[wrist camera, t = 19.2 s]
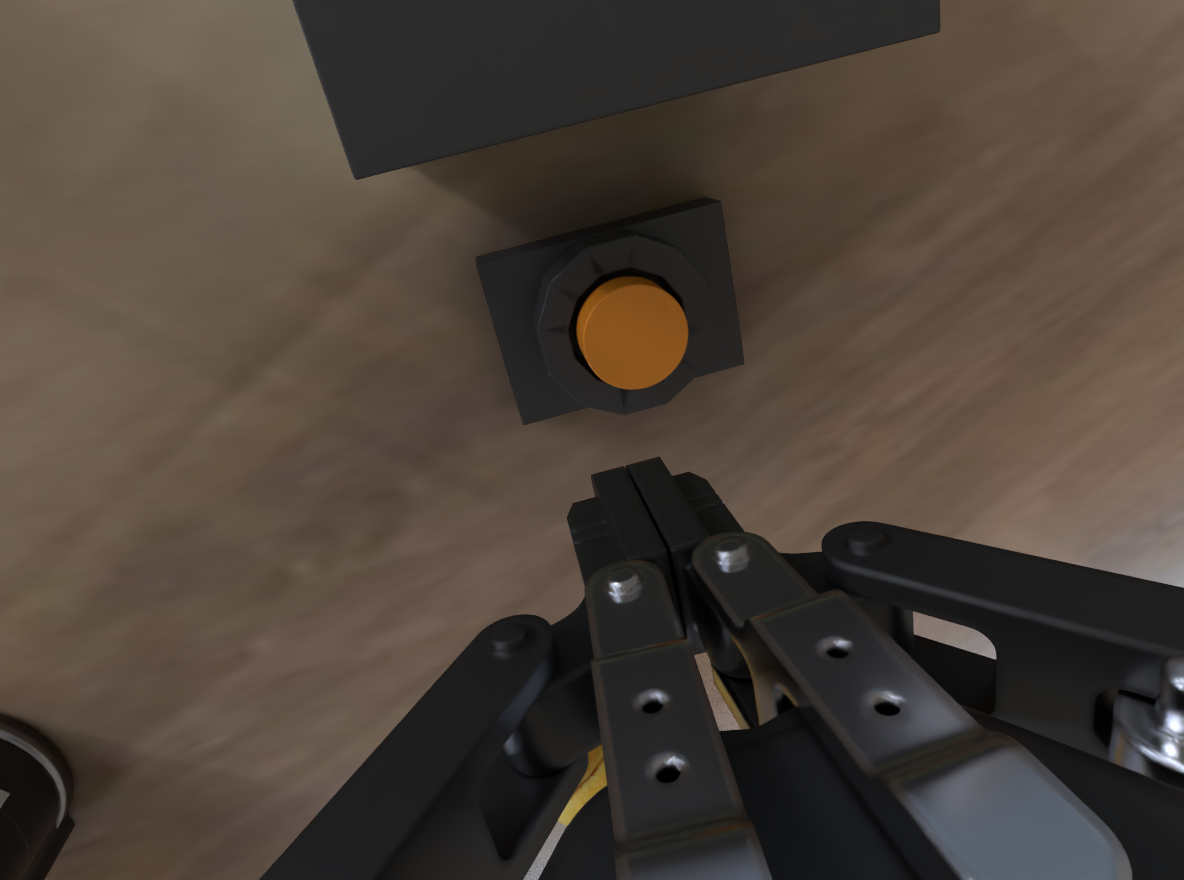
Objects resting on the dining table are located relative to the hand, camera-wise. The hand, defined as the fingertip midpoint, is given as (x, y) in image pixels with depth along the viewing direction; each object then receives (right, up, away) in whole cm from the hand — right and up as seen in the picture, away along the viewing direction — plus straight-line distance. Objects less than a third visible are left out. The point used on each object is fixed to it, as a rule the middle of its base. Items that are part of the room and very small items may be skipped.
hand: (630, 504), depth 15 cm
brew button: (+1, +6, +13) cm, 14 cm away
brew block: (0, +7, +16) cm, 18 cm away
